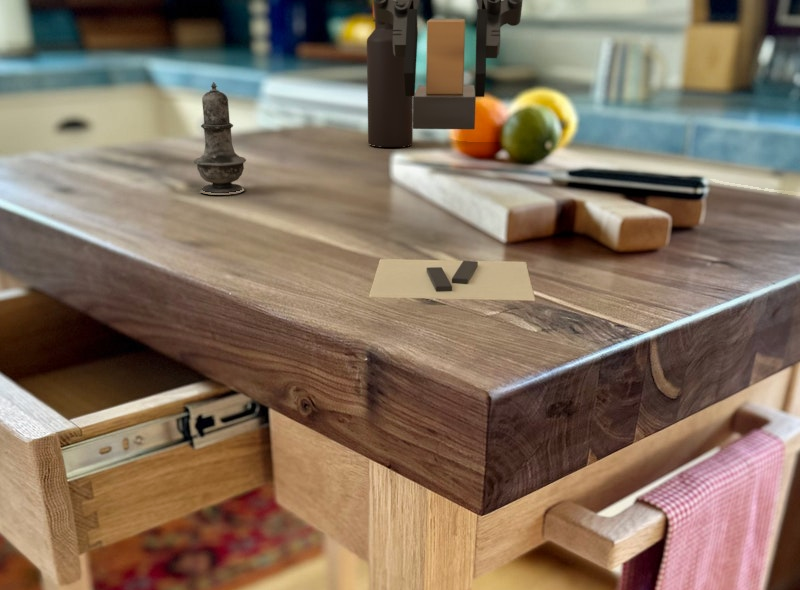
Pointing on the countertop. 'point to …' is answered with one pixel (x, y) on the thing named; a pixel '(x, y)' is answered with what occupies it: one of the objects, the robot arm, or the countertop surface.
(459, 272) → the stroke
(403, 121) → the bottle
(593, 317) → the countertop surface
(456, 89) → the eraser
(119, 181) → the countertop surface
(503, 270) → the memo board
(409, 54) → the robot arm
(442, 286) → the stroke
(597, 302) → the countertop surface
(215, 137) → the salt shaker
